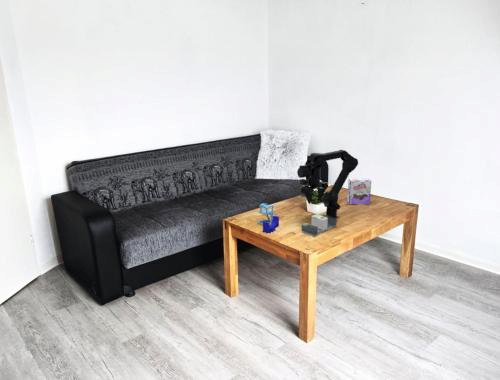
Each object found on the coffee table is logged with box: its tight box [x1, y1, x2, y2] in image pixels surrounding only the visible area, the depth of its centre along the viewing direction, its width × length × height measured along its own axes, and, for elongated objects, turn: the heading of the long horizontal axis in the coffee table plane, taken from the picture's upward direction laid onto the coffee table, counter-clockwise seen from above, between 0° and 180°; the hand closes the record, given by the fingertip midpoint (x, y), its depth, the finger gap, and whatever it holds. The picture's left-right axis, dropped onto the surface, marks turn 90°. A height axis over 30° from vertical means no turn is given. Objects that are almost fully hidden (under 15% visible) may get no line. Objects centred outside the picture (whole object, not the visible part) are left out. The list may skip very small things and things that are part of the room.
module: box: [310, 214, 328, 230], centre depth 225 cm, size 4×8×6 cm, turn 44°
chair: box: [256, 202, 275, 226], centre depth 235 cm, size 8×8×12 cm
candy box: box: [346, 178, 372, 205], centre depth 265 cm, size 14×6×16 cm, turn 88°
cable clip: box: [262, 215, 280, 234], centre depth 227 cm, size 12×4×6 cm, turn 144°
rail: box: [300, 214, 338, 237], centre depth 225 cm, size 20×9×5 cm, turn 134°
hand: (314, 201), depth 235 cm, fingers open, 9 cm apart
